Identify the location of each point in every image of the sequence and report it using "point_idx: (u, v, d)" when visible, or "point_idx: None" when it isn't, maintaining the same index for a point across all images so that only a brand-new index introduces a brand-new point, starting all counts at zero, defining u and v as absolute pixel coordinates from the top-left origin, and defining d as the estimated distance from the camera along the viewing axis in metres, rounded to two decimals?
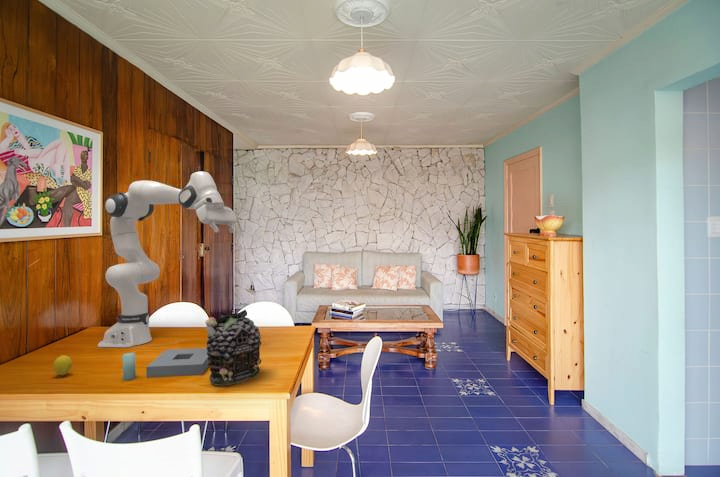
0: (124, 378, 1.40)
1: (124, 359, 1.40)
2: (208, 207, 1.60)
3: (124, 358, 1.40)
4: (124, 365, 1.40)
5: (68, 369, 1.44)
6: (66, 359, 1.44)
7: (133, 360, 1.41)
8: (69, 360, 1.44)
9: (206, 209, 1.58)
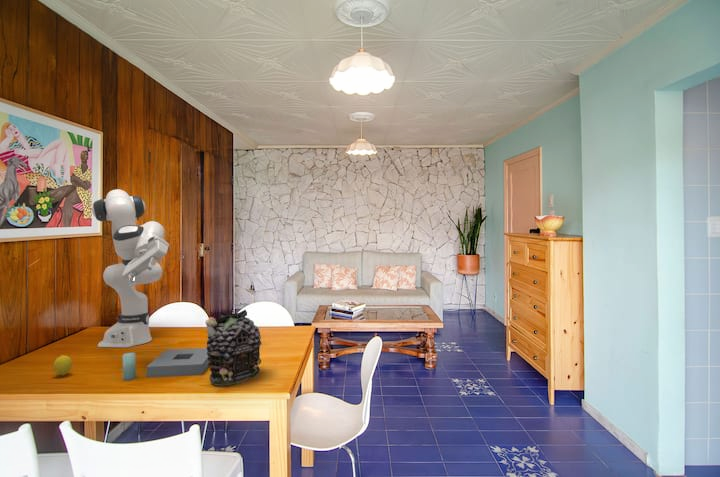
0: (124, 378, 1.40)
1: (124, 359, 1.40)
2: None
3: (124, 358, 1.40)
4: (124, 365, 1.40)
5: (68, 369, 1.44)
6: (66, 359, 1.44)
7: (133, 360, 1.41)
8: (69, 360, 1.44)
9: None
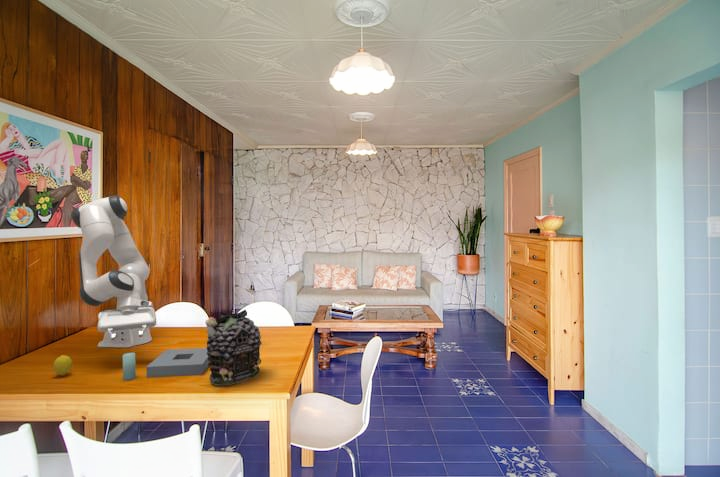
0: (124, 378, 1.40)
1: (124, 359, 1.40)
2: None
3: (124, 358, 1.40)
4: (124, 365, 1.40)
5: (68, 369, 1.44)
6: (66, 359, 1.44)
7: (133, 360, 1.41)
8: (69, 360, 1.44)
9: None
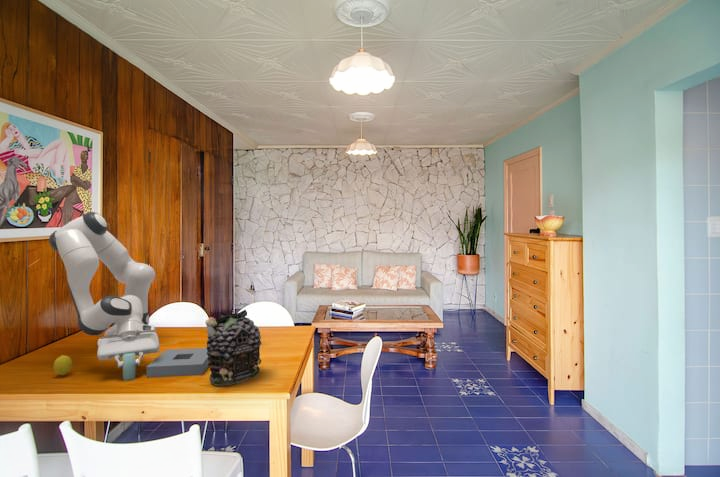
0: (124, 378, 1.40)
1: (124, 359, 1.40)
2: None
3: (124, 358, 1.40)
4: (124, 365, 1.40)
5: (68, 369, 1.44)
6: (66, 359, 1.44)
7: (133, 360, 1.41)
8: (69, 360, 1.44)
9: None
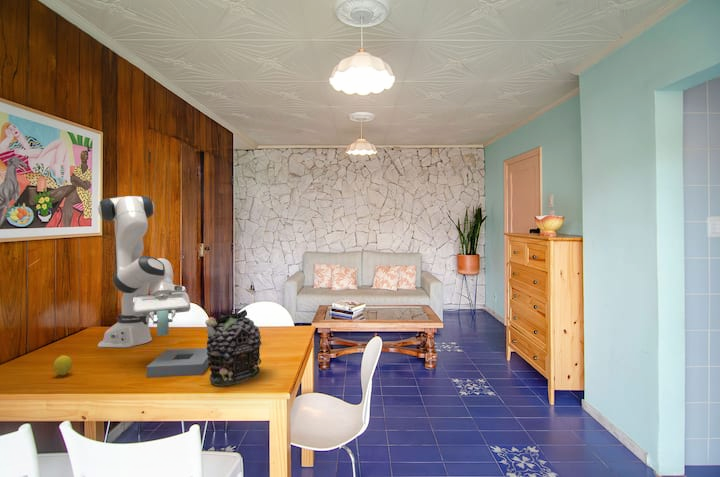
0: (158, 333, 1.47)
1: (158, 315, 1.47)
2: None
3: (158, 314, 1.47)
4: (158, 321, 1.47)
5: (68, 369, 1.44)
6: (66, 359, 1.44)
7: (166, 316, 1.48)
8: (69, 360, 1.44)
9: None
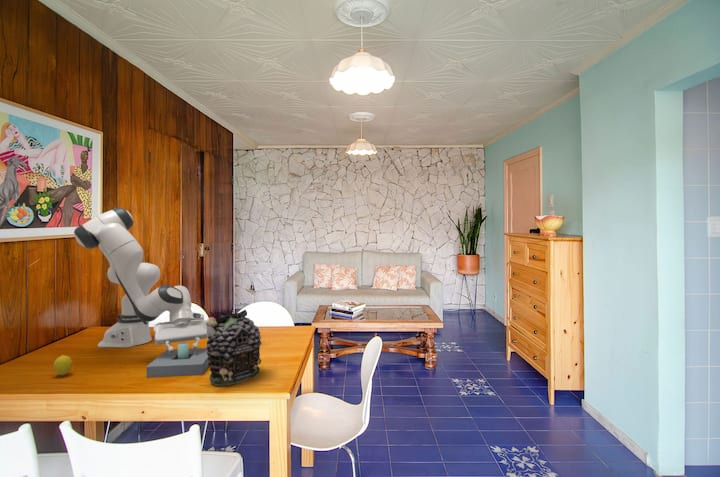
0: None
1: (179, 348, 1.52)
2: None
3: (179, 348, 1.52)
4: (179, 354, 1.52)
5: (68, 369, 1.44)
6: (66, 359, 1.44)
7: (187, 349, 1.53)
8: (69, 360, 1.44)
9: None
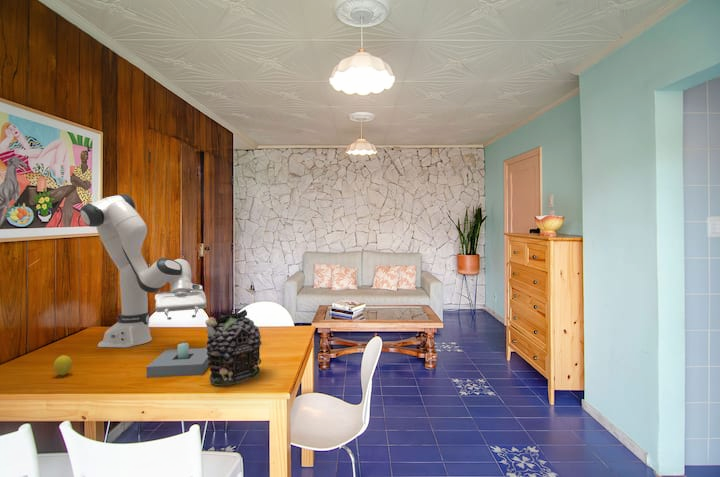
0: None
1: (179, 348, 1.52)
2: None
3: (179, 348, 1.52)
4: (179, 354, 1.52)
5: (68, 369, 1.44)
6: (66, 359, 1.44)
7: (187, 349, 1.53)
8: (69, 360, 1.44)
9: None
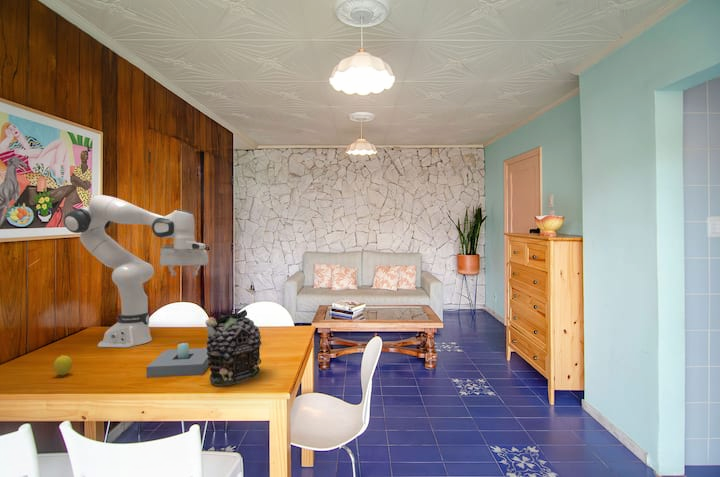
0: None
1: (179, 348, 1.52)
2: None
3: (179, 348, 1.52)
4: (179, 354, 1.52)
5: (68, 369, 1.44)
6: (66, 359, 1.44)
7: (187, 349, 1.53)
8: (69, 360, 1.44)
9: None
